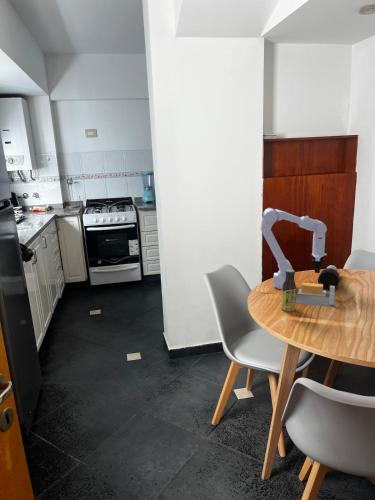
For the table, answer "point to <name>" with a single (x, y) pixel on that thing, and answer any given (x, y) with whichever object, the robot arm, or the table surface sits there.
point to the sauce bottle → (289, 292)
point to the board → (314, 299)
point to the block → (312, 288)
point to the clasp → (331, 295)
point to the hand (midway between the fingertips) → (317, 270)
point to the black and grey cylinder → (329, 277)
